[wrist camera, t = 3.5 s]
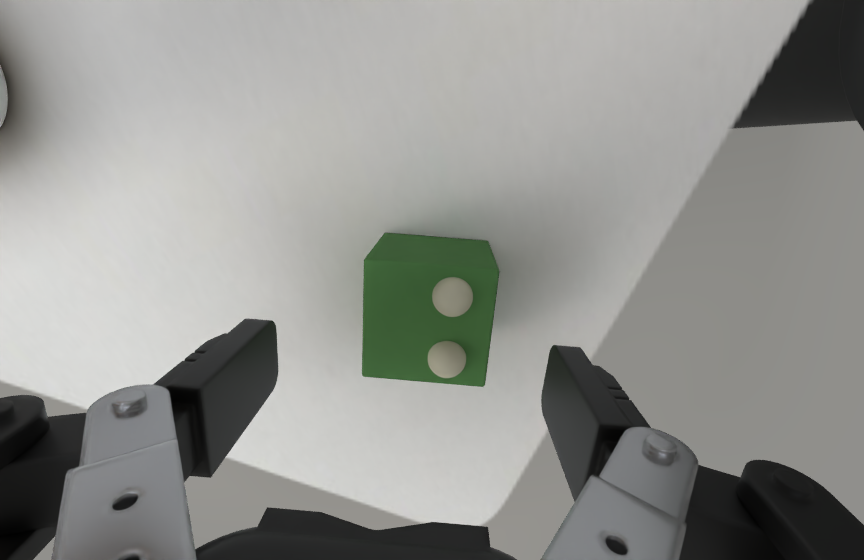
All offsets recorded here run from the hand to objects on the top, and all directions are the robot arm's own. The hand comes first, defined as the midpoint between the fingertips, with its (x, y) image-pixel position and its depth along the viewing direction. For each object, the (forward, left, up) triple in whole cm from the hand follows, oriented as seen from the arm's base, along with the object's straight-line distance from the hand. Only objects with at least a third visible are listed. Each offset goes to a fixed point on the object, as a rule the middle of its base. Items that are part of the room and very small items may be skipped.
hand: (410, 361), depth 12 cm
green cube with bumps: (0, 0, -7) cm, 7 cm away
